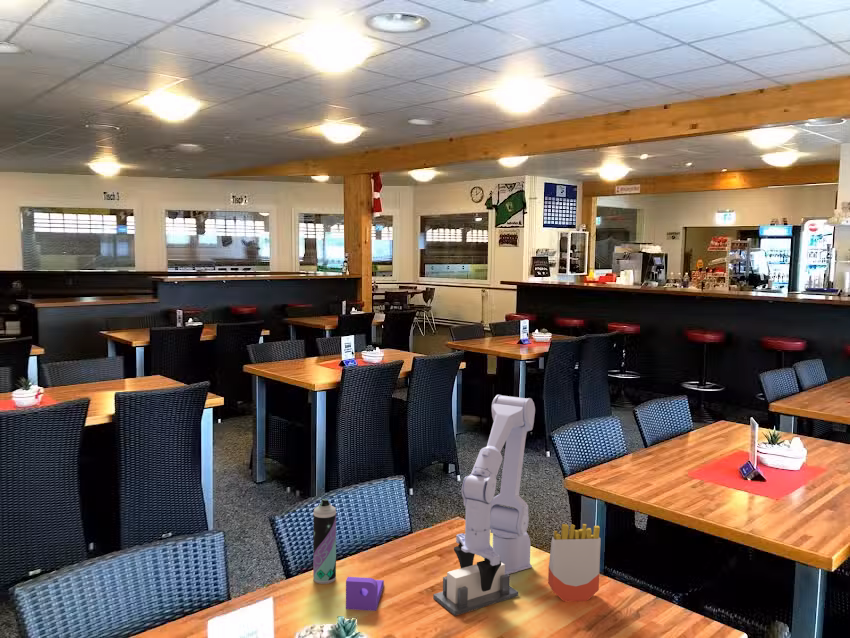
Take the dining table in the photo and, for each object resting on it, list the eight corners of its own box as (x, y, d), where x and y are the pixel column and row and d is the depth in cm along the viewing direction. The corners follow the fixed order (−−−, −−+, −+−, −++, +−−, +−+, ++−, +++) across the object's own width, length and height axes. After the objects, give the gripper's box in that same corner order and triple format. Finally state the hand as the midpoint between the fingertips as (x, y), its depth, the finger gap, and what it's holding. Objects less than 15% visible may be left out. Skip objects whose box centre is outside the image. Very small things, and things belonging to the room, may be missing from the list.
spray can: (309, 581, 163) (309, 501, 161) (320, 571, 168) (320, 494, 166) (328, 585, 161) (328, 504, 159) (339, 575, 166) (340, 497, 164)
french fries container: (547, 592, 159) (549, 518, 158) (591, 590, 160) (594, 517, 159) (552, 601, 155) (555, 526, 153) (598, 600, 156) (601, 525, 154)
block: (495, 582, 161) (495, 558, 161) (504, 589, 158) (504, 564, 158) (446, 597, 154) (447, 572, 154) (455, 603, 151) (455, 578, 151)
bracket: (376, 612, 150) (376, 582, 149) (345, 610, 150) (345, 581, 150) (383, 586, 162) (384, 559, 161) (355, 584, 162) (355, 557, 161)
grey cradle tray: (495, 580, 165) (495, 560, 164) (518, 595, 157) (519, 575, 157) (433, 598, 155) (433, 577, 155) (454, 616, 148) (455, 594, 147)
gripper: (446, 519, 159) (445, 574, 160) (482, 541, 147) (481, 600, 148) (470, 513, 163) (469, 567, 164) (507, 534, 150) (506, 593, 151)
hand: (476, 583), depth 156 cm, fingers open, 7 cm apart
